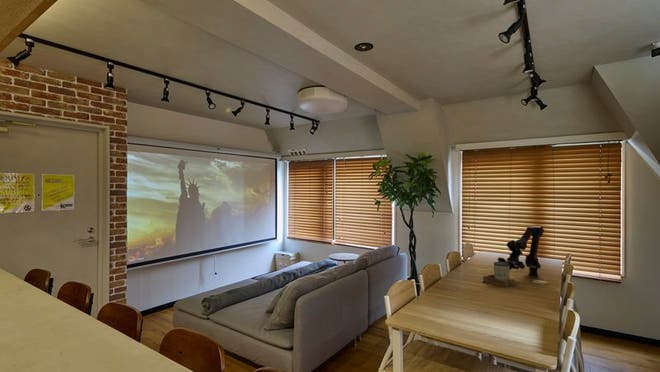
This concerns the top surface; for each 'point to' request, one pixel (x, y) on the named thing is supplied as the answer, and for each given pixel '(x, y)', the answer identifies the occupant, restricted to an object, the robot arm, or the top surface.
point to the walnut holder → (497, 281)
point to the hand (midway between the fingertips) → (506, 271)
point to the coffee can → (501, 271)
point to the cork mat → (539, 282)
